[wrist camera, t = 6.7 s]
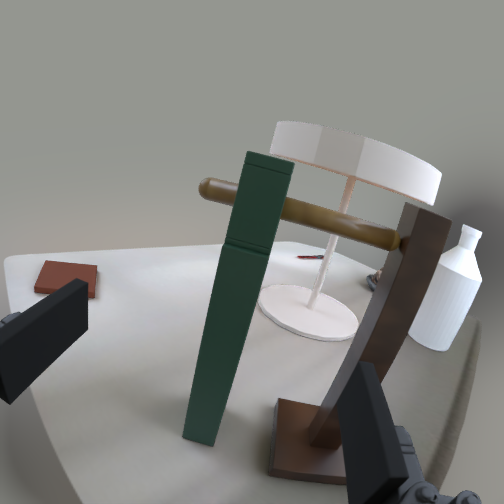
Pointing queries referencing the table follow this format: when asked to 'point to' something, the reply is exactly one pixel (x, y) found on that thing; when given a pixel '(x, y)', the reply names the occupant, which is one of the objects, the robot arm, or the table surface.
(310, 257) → the pen
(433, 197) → the white stemmed bowl
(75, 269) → the cork pad
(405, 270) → the hook stand
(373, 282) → the bison figurine
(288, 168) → the green block with loop
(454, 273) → the bottle
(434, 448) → the table surface
